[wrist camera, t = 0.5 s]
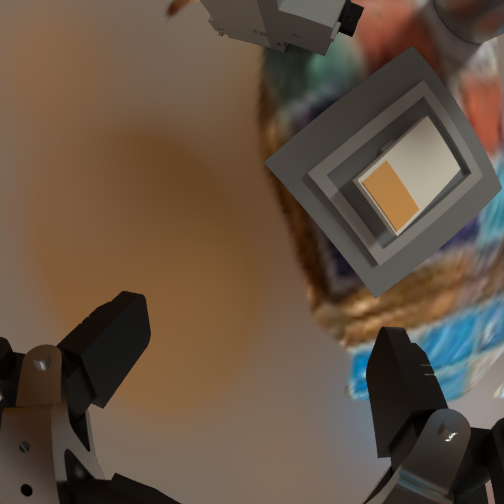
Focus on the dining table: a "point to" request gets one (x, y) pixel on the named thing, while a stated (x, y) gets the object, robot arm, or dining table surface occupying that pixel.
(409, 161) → the breaker rocker
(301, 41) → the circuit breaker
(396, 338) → the robot arm
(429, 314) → the dining table surface
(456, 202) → the box
